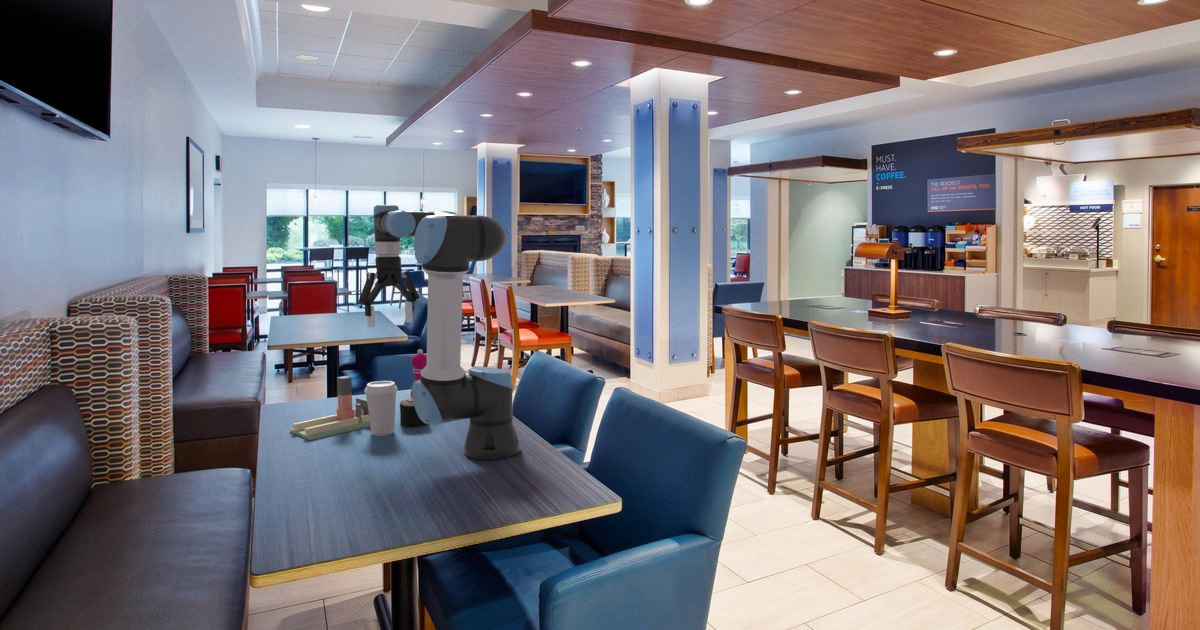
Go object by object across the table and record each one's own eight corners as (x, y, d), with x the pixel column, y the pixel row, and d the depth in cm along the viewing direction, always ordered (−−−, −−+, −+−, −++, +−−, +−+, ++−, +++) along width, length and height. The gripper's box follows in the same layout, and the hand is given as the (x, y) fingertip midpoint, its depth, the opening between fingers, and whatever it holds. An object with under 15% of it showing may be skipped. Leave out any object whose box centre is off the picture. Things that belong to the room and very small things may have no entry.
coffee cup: (404, 428, 218) (402, 380, 216) (391, 438, 209) (390, 387, 207) (373, 427, 219) (372, 379, 217) (360, 436, 210) (358, 387, 208)
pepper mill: (410, 405, 246) (408, 347, 244) (431, 403, 248) (430, 346, 246) (411, 410, 239) (409, 351, 237) (433, 408, 242) (431, 350, 239)
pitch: (377, 424, 223) (376, 402, 222) (310, 440, 206) (309, 416, 205) (357, 417, 230) (356, 396, 229) (290, 432, 214) (289, 409, 213)
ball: (365, 406, 223) (353, 411, 220) (368, 418, 224) (356, 423, 221) (358, 404, 226) (347, 409, 223) (361, 415, 227) (349, 420, 224)
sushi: (432, 424, 223) (432, 399, 222) (407, 429, 218) (406, 403, 217) (421, 418, 229) (421, 394, 228) (396, 423, 224) (395, 398, 223)
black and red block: (354, 422, 220) (352, 377, 218) (345, 424, 218) (343, 379, 216) (346, 419, 224) (344, 375, 222) (337, 421, 221) (335, 376, 219)
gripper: (414, 254, 231) (416, 319, 233) (344, 256, 211) (347, 327, 214) (428, 254, 226) (431, 321, 228) (358, 257, 207) (361, 329, 209)
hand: (390, 324), depth 221 cm, fingers open, 13 cm apart
